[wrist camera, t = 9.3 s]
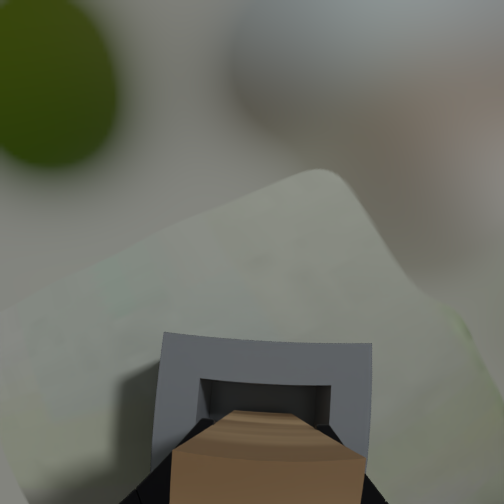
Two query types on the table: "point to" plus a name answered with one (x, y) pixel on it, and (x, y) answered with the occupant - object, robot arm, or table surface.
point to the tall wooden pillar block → (265, 464)
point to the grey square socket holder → (261, 386)
